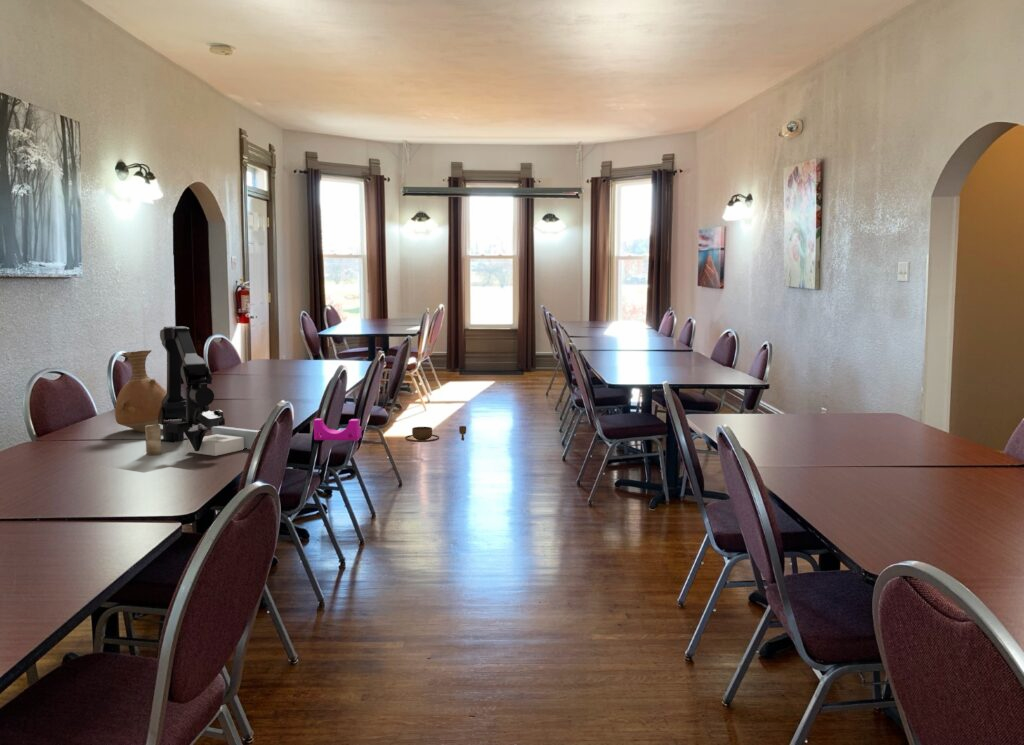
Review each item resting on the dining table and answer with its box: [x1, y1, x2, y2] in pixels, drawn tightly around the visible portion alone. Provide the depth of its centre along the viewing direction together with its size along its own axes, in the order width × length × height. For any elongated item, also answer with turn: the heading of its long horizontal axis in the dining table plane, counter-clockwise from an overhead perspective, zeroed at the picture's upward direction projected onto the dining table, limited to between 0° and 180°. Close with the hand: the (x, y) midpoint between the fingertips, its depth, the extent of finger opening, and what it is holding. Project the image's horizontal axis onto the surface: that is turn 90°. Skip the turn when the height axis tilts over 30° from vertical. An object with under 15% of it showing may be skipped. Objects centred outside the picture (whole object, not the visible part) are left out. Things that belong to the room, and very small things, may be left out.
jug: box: [114, 349, 167, 433], centre depth 312 cm, size 20×19×30 cm
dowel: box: [144, 424, 162, 456], centre depth 276 cm, size 4×4×9 cm
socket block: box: [187, 434, 245, 457], centre depth 281 cm, size 12×12×4 cm
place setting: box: [404, 425, 467, 445], centre depth 300 cm, size 18×20×6 cm
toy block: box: [313, 418, 362, 442], centre depth 303 cm, size 15×6×8 cm, turn 86°
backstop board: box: [211, 425, 260, 450], centre depth 289 cm, size 20×2×6 cm, turn 62°
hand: (197, 451), depth 275 cm, fingers closed
